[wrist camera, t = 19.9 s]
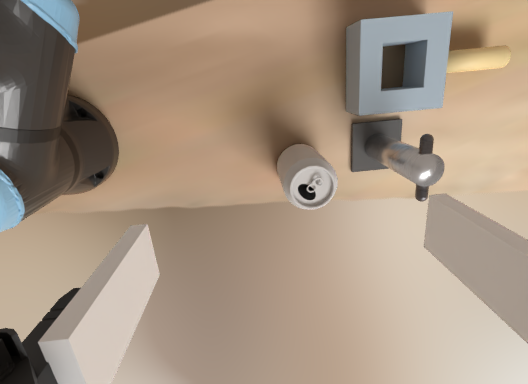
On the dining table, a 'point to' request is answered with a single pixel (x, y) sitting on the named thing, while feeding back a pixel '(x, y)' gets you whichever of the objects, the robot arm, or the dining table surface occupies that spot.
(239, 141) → the dining table surface
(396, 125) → the mat
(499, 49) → the block
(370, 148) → the silver tall rounded piece
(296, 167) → the can
